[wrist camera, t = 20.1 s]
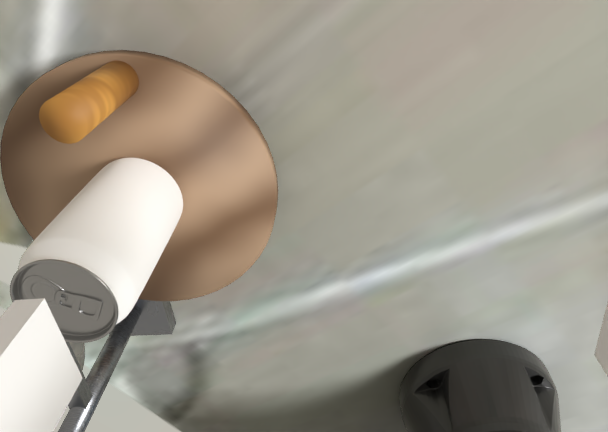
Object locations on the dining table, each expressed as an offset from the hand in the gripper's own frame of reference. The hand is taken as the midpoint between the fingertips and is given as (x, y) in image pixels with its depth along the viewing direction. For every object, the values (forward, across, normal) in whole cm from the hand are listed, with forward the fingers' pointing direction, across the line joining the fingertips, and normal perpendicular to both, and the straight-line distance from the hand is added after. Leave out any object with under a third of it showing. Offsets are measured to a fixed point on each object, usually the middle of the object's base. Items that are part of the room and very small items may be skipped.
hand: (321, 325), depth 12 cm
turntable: (+24, +14, +7) cm, 29 cm away
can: (+23, +14, +7) cm, 28 cm away
